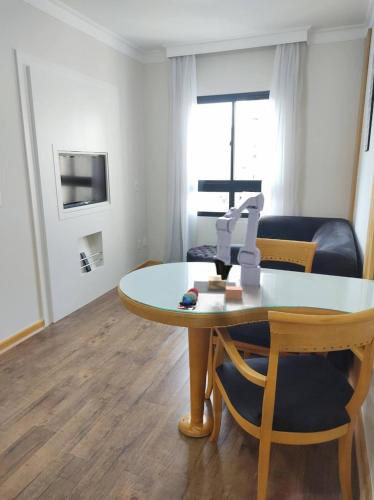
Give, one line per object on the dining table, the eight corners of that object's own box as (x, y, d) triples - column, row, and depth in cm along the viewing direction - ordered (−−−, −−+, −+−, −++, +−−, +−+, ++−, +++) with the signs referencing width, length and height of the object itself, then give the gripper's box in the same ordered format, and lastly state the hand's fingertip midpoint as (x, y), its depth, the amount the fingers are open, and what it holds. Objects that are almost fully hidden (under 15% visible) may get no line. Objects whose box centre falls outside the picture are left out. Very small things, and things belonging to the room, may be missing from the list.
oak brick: (225, 284, 172) (225, 276, 171) (225, 289, 166) (226, 281, 165) (208, 284, 172) (208, 276, 171) (208, 288, 167) (208, 280, 166)
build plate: (235, 283, 176) (235, 282, 176) (237, 295, 160) (237, 294, 160) (194, 281, 177) (194, 281, 177) (192, 293, 161) (192, 292, 161)
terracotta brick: (241, 297, 158) (241, 286, 157) (241, 301, 154) (242, 290, 153) (225, 296, 159) (225, 286, 157) (225, 300, 155) (226, 289, 154)
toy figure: (194, 314, 145) (203, 295, 158) (193, 303, 143) (202, 285, 156) (176, 313, 147) (186, 294, 160) (175, 302, 145) (185, 284, 158)
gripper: (210, 242, 157) (208, 272, 160) (219, 249, 143) (216, 282, 146) (226, 242, 158) (223, 272, 161) (236, 249, 144) (233, 282, 147)
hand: (221, 277), depth 153 cm, fingers open, 7 cm apart
